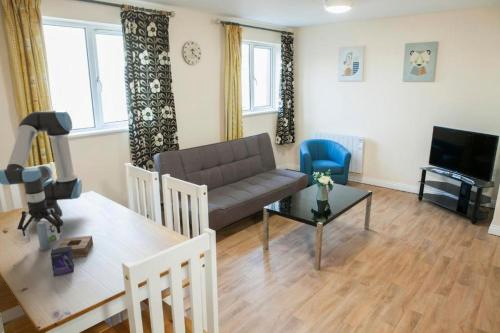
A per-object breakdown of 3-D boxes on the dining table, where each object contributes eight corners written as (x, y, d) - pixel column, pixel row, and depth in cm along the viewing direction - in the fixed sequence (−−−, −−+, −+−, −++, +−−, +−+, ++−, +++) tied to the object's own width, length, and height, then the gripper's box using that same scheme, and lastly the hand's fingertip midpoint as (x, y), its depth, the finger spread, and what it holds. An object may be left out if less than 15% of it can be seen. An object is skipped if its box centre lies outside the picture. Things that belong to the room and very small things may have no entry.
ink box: (54, 233, 189) (51, 213, 186) (62, 234, 188) (59, 214, 185) (42, 240, 181) (38, 220, 178) (51, 241, 180) (47, 220, 177)
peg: (42, 247, 174) (37, 222, 170) (51, 246, 175) (46, 221, 171) (39, 251, 170) (34, 225, 167) (48, 250, 171) (43, 224, 167)
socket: (66, 246, 175) (64, 237, 173) (93, 244, 177) (91, 235, 175) (56, 260, 162) (55, 250, 161) (86, 257, 164) (84, 247, 163)
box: (53, 276, 149) (49, 254, 146) (54, 270, 154) (51, 248, 151) (74, 272, 152) (70, 250, 149) (74, 266, 157) (71, 244, 154)
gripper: (3, 205, 160) (12, 246, 165) (61, 201, 164) (68, 241, 170) (11, 199, 167) (19, 239, 173) (66, 195, 171) (72, 234, 177)
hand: (43, 240), depth 171 cm, fingers open, 13 cm apart
